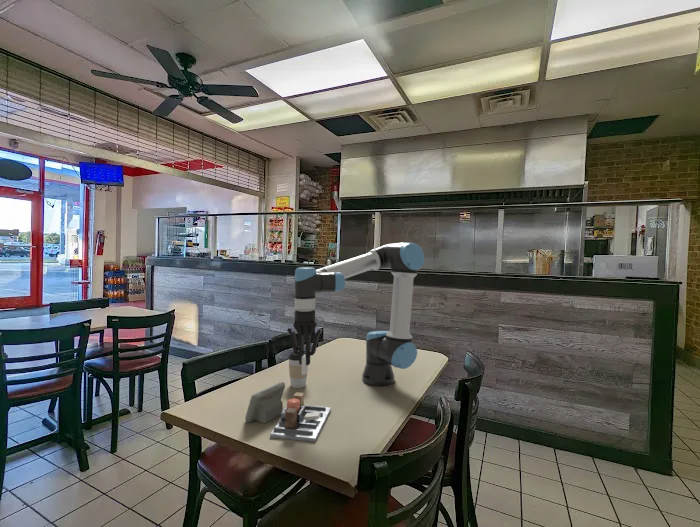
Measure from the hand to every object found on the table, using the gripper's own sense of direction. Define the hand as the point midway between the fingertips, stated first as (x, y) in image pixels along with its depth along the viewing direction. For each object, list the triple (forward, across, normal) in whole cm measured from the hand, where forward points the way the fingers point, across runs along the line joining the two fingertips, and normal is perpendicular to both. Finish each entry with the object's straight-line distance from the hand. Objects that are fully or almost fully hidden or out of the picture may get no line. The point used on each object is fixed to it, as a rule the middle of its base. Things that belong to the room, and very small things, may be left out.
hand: (304, 373), depth 126 cm
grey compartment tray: (+15, -1, +6) cm, 17 cm away
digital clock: (+15, +14, +4) cm, 21 cm away
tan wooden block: (+14, +2, 0) cm, 14 cm away
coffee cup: (+15, +11, -26) cm, 33 cm away
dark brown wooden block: (+14, +1, +13) cm, 19 cm away
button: (+11, +2, +6) cm, 13 cm away
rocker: (+13, -5, +6) cm, 15 cm away
